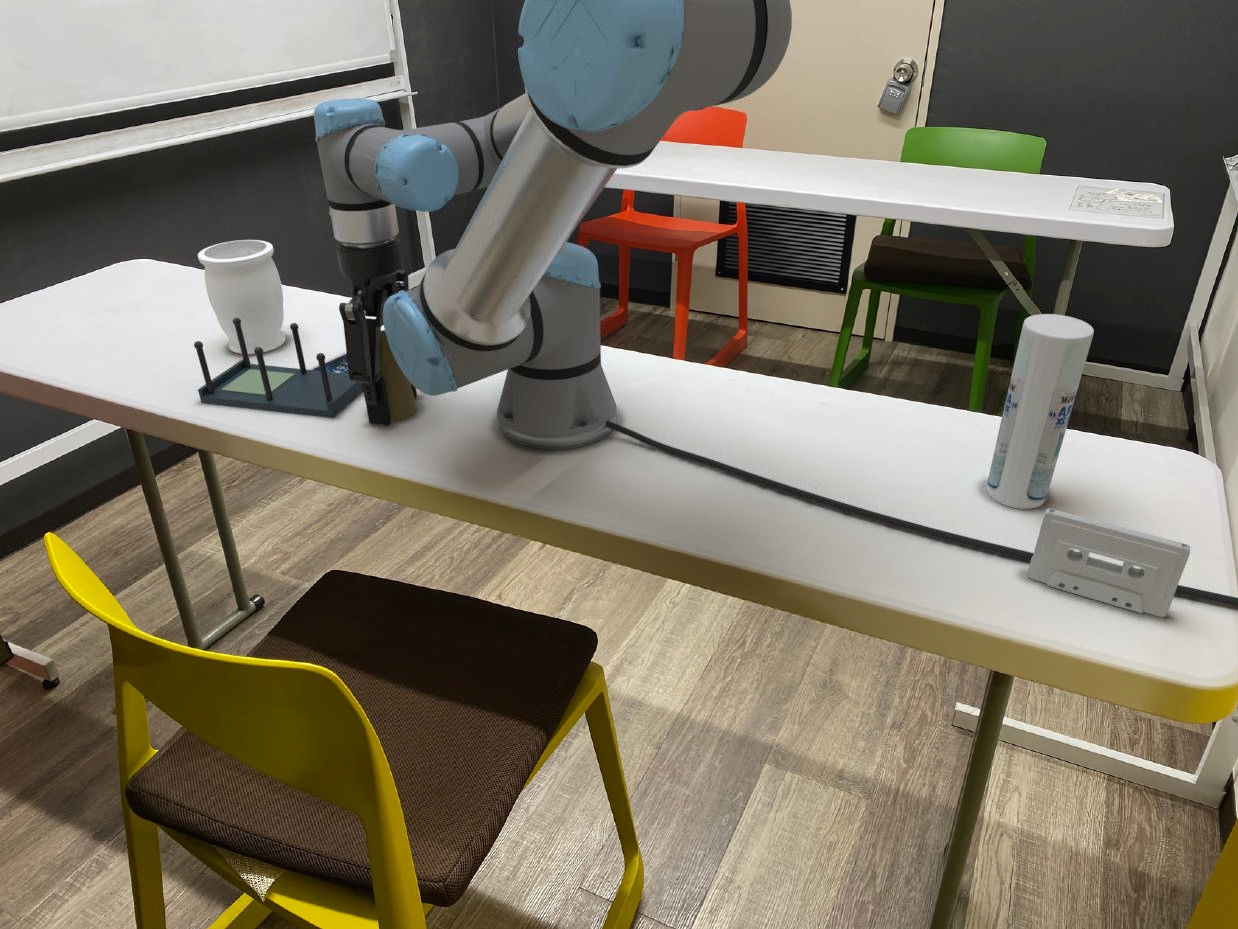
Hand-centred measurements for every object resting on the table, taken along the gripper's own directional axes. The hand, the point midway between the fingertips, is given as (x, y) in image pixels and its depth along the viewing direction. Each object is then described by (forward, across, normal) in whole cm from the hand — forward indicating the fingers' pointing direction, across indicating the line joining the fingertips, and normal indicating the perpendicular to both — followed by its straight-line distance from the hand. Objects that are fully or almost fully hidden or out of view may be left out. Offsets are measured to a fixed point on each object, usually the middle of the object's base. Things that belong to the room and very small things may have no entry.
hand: (393, 409), depth 119 cm
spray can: (0, +3, +77) cm, 77 cm away
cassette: (0, +20, +82) cm, 85 cm away
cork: (0, 0, 0) cm, 0 cm away
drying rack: (0, -2, -17) cm, 17 cm away
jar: (+1, -16, -31) cm, 35 cm away
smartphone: (+1, -14, -12) cm, 19 cm away
